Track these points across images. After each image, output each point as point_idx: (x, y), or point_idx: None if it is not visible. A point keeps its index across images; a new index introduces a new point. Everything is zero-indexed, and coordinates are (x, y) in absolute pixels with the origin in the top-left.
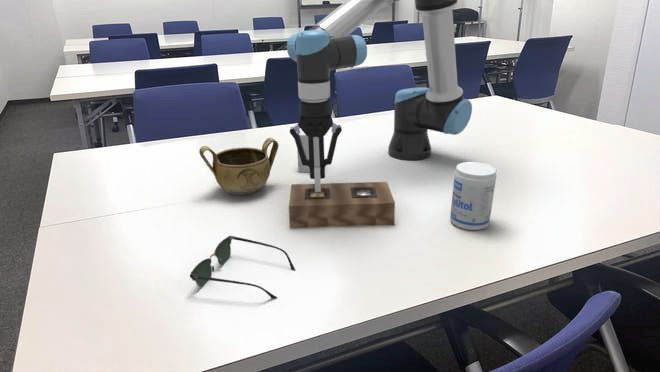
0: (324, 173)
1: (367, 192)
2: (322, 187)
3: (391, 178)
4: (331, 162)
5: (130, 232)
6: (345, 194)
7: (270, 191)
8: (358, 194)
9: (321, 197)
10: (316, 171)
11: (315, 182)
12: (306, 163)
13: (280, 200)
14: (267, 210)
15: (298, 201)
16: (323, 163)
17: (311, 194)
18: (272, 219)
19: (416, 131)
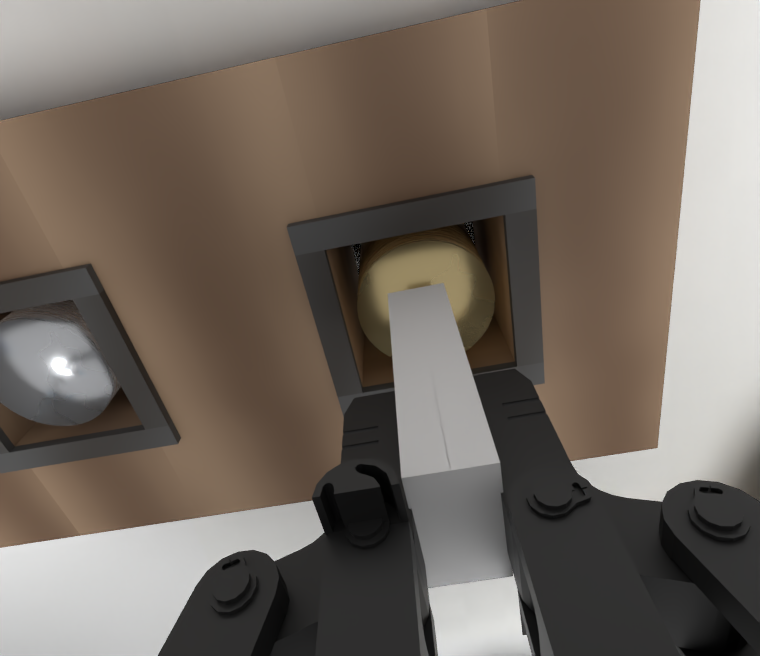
0: (347, 442)
1: (16, 384)
2: None
3: (132, 647)
4: (197, 593)
5: None
6: (178, 326)
7: (722, 483)
8: (71, 340)
9: (368, 215)
10: (453, 428)
11: (450, 333)
12: (674, 518)
13: (666, 394)
14: (756, 258)
15: (592, 108)
16: (342, 558)
17: (477, 292)
18: (729, 124)
19: None
